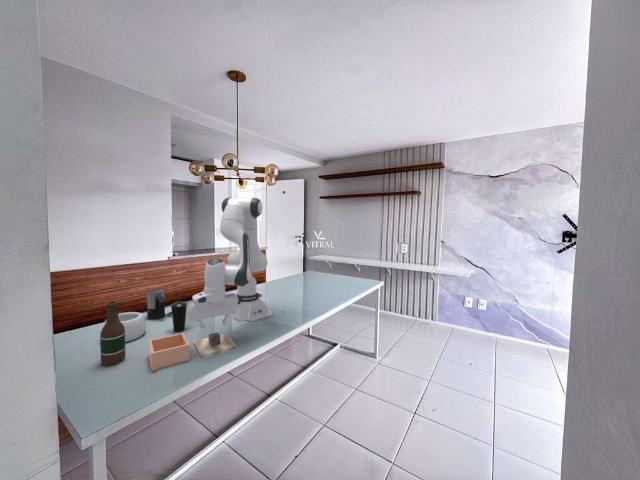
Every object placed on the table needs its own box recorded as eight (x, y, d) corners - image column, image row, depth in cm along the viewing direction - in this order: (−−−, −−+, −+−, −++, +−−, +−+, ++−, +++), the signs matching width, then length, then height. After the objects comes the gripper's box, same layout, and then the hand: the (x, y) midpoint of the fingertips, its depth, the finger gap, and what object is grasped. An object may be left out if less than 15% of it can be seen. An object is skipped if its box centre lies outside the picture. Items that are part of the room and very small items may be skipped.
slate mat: (227, 335, 128) (227, 334, 128) (239, 349, 114) (239, 348, 114) (190, 344, 118) (190, 343, 118) (198, 361, 104) (198, 360, 104)
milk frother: (142, 318, 145) (142, 292, 144) (167, 309, 160) (167, 286, 159) (160, 322, 141) (160, 296, 139) (184, 313, 155) (184, 289, 154)
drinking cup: (180, 334, 128) (180, 294, 126) (167, 332, 129) (166, 293, 128) (190, 327, 135) (190, 290, 134) (178, 326, 137) (178, 289, 135)
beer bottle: (127, 361, 102) (126, 302, 101) (102, 369, 97) (101, 307, 95) (123, 354, 107) (122, 298, 106) (99, 361, 102) (97, 302, 100)
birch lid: (226, 335, 126) (226, 325, 126) (236, 348, 115) (236, 337, 114) (192, 343, 117) (192, 332, 117) (200, 358, 105) (200, 346, 105)
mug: (110, 331, 127) (110, 312, 127) (149, 328, 133) (149, 309, 133) (90, 353, 107) (89, 330, 107) (137, 347, 113) (136, 325, 113)
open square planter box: (183, 348, 114) (183, 332, 114) (189, 361, 104) (189, 344, 103) (148, 356, 106) (148, 340, 106) (151, 371, 96) (151, 353, 95)
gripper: (235, 291, 123) (234, 319, 124) (188, 296, 110) (187, 327, 111) (239, 294, 118) (239, 323, 119) (191, 300, 105) (190, 333, 106)
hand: (213, 325), depth 115 cm, fingers open, 8 cm apart
